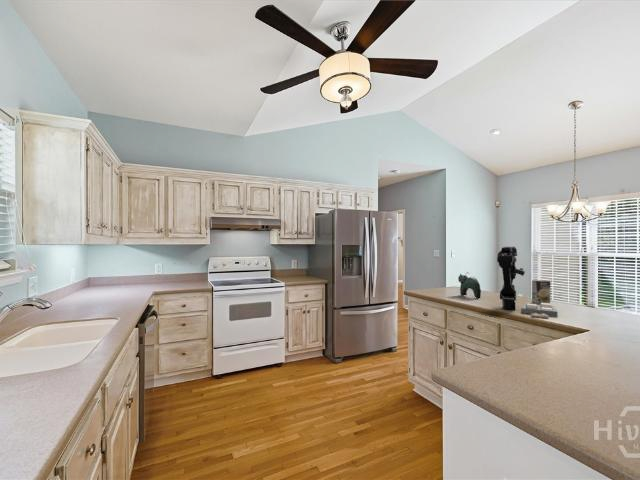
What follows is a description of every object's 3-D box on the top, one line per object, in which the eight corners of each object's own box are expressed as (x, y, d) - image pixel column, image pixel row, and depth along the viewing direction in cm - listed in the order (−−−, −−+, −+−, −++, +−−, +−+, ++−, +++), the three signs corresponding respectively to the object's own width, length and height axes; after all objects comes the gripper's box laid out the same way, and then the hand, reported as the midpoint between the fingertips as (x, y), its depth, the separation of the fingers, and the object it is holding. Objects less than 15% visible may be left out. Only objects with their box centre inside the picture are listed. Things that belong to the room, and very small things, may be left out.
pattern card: (531, 317, 177) (531, 314, 177) (531, 314, 184) (531, 312, 184) (548, 318, 173) (548, 316, 173) (547, 316, 179) (547, 313, 179)
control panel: (522, 313, 187) (522, 308, 187) (522, 307, 202) (522, 303, 202) (557, 316, 177) (557, 311, 177) (555, 311, 192) (555, 306, 192)
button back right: (541, 307, 190) (541, 304, 190) (541, 306, 194) (540, 302, 194) (551, 308, 187) (551, 304, 187) (550, 307, 191) (550, 303, 191)
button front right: (541, 312, 184) (541, 308, 184) (541, 310, 188) (541, 307, 188) (552, 313, 181) (552, 309, 181) (551, 311, 185) (551, 308, 185)
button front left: (526, 308, 188) (526, 304, 188) (526, 307, 192) (526, 303, 192) (536, 309, 185) (536, 305, 185) (536, 308, 189) (536, 304, 189)
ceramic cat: (457, 295, 253) (457, 271, 253) (464, 294, 255) (463, 271, 255) (476, 299, 234) (476, 273, 234) (483, 298, 236) (482, 273, 236)
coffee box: (537, 304, 214) (536, 281, 214) (531, 302, 220) (531, 280, 220) (551, 304, 213) (550, 281, 213) (545, 302, 219) (544, 280, 219)
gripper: (524, 265, 197) (524, 289, 197) (524, 264, 213) (524, 286, 213) (504, 265, 204) (504, 288, 204) (505, 263, 219) (506, 285, 219)
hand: (510, 286), depth 210 cm, fingers closed
